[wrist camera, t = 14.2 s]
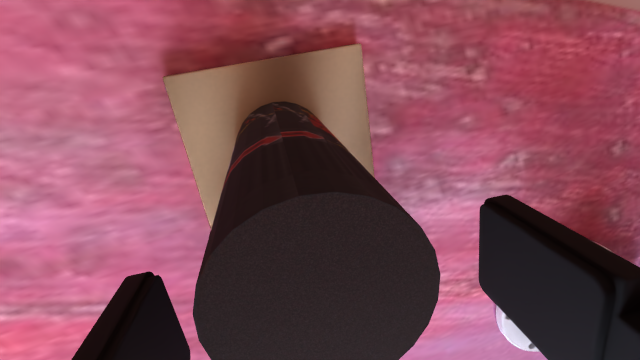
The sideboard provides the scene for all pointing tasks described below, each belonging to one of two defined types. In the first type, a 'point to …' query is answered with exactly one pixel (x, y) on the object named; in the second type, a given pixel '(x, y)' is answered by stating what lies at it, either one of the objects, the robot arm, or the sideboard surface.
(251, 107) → the coaster
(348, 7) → the sideboard surface
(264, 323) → the deodorant
